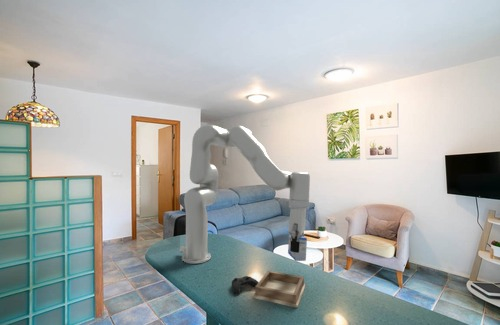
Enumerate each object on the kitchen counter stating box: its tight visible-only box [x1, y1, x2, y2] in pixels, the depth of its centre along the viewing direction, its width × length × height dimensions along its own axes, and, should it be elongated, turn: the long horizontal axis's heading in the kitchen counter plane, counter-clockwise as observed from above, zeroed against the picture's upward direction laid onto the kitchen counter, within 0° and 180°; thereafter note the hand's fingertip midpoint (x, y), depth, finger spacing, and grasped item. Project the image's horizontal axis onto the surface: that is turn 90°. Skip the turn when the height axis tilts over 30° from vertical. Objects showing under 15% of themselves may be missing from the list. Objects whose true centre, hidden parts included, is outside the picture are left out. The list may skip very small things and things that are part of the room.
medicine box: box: [287, 233, 308, 262], centre depth 94 cm, size 8×4×9 cm, turn 11°
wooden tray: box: [252, 270, 306, 309], centre depth 80 cm, size 14×14×3 cm
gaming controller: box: [231, 275, 259, 296], centre depth 83 cm, size 10×5×6 cm
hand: (297, 247), depth 94 cm, fingers closed on medicine box, 9 cm apart
